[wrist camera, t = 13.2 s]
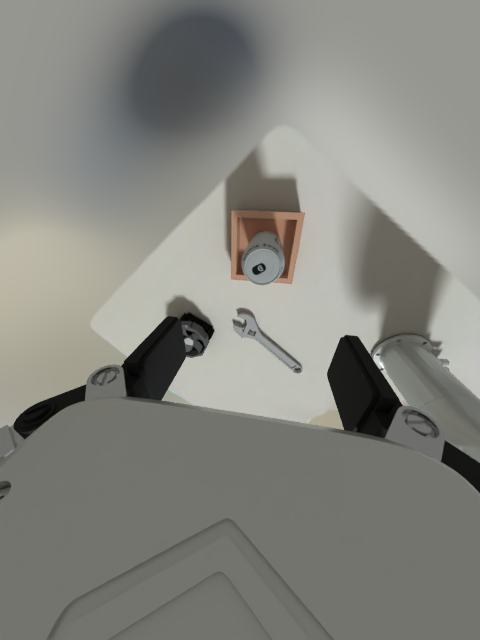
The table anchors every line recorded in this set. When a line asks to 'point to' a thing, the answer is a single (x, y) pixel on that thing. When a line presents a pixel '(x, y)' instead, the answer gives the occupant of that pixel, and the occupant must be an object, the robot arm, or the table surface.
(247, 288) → the table surface
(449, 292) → the table surface
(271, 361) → the table surface
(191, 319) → the cpu cooler
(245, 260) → the energy drink can
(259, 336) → the adjustable wrench
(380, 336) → the table surface
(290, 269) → the bin
